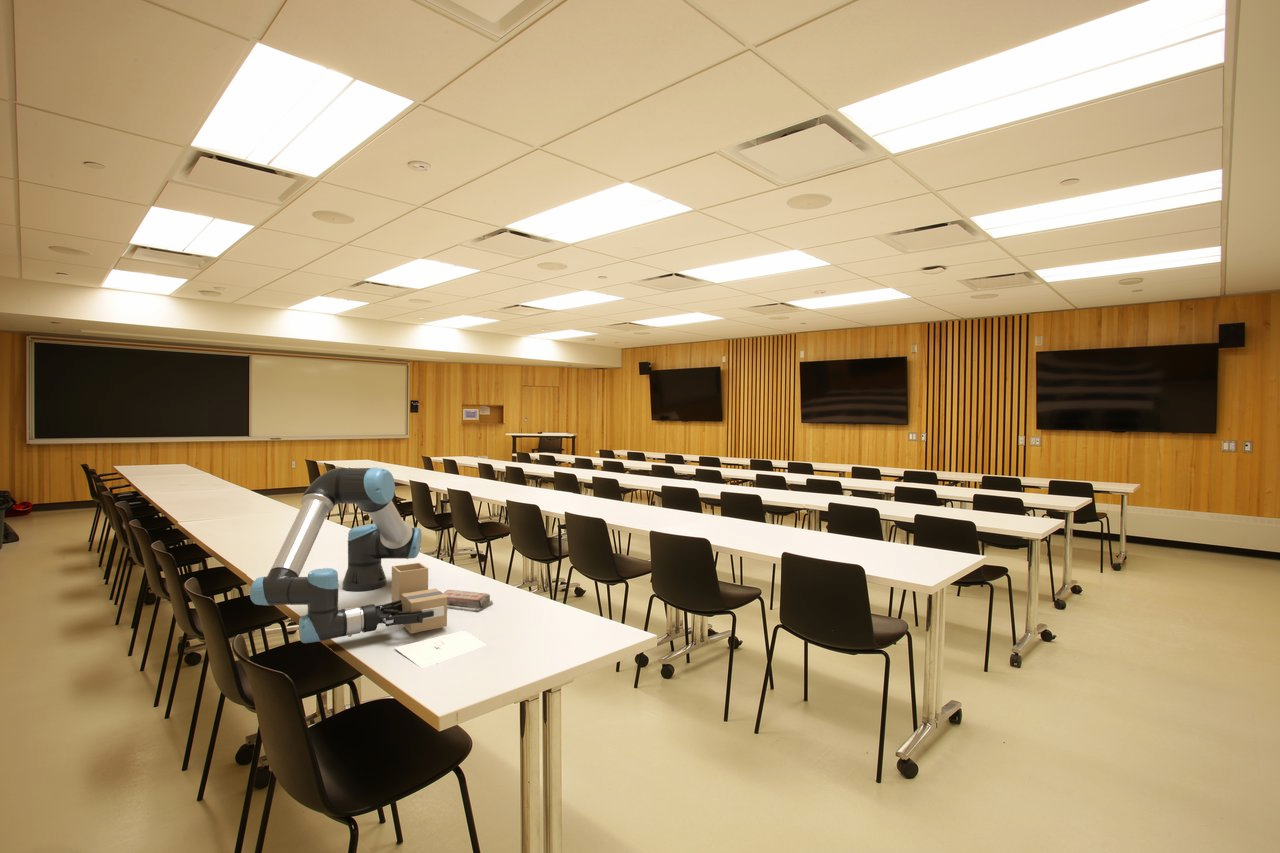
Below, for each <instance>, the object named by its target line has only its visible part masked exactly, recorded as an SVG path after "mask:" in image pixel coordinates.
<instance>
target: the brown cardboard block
mask: <svg viewBox="0 0 1280 853" xmlns="http://www.w3.org/2000/svg"><path fill="white" fill-rule="evenodd" d="M443 593H444V592H442V591H440V590H438V589H437V588H430V589H429V588H428V590H423V591H417V592H411V593H404V594H401V603H402V612H404V611H411V612H415V611H421V610H423V609H429V608H434V607H440V606H444V615H443V616H438V617H433V618H427V619H423V620H422V623H412V624H402V625H403V627H405V629H406V630H407V631H408V632H409V633H410V634H416V633H420V632H424V631H430V630H434V629H435V630H436V629H439V628H445V627H447V626H448V609H447V596H445V595H444V594H443ZM417 618H418V617H417Z"/></svg>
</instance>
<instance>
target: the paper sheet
mask: <svg viewBox="0 0 1280 853" xmlns="http://www.w3.org/2000/svg"><path fill="white" fill-rule="evenodd" d="M486 646H488V645H487V644H486V643H485V642H483V641H482V640H480V639H478V638H477V637H476V636H474V635H472V634H471V633H469V632H467V631H465V630H461V631H456V632H452V633H449V634H445V635H440V636H437V637H432V638H427V639H424V640H419V641H417V642H416V641H415V642H412V643H408V644H403V645H400V646H395V647H394V649H395V650H396V651H397V652H399V653H400V654H402V655H403V656H404V657H406V658H407V659H409V660H410V661H411V662H413V663H414V664H415V665H417V666H418V667H419V668H421V669H425V668H428V667H430V666H432V665H436V664H439V663H441V662H444V661H447V660H450V659H452V658H455V657H457V656H461V655H464V654H466V653H468V652H472V651H475V650H477V649H480V648H483V647H486Z"/></svg>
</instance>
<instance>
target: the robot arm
mask: <svg viewBox="0 0 1280 853" xmlns="http://www.w3.org/2000/svg"><path fill="white" fill-rule="evenodd" d="M395 494H396V484H395V479H394V476H393V474H392V473H391V472H390V470H389V469H386V468H380V467H339V468H338V467H336V468H333V469H330V470H327V471H326V472H324V473H323V474H321V475H319V476H318V477H317V478H316V479H315V480H314V481H313V482H312V483H311V484H310V485H309V486H308V487H307V489H306V490H305V491H304V493H303V495H302V497H301V499H300V504H301V507H300V509H299V511H298V513H297V515H296V517H295V519H294V521H293V524H292V525H291V526H290V530H289V532H288V533H287V535H286V537H285V540H284V542H283V543H282V546H281V548H280V550H279V552H278V553H277V556H276V558H275V561H274V562H273V564H272V566H271V569H270V570H269V572H268V574H267V576H260V577H259V576H258V577H257V578H256V579H255V580H253V582H252V583H251V586H250V590H249V597H250V600H251V602H252V603H253V604H254V605H258V606H286V605H287V606H288V605H290V606H291V605H292V606H307V614H305V615H301V616H300V618H299V619H298V620H299V621H298V635H299V640H300V642H301V643H303V644H308V643H309V644H310V643H316V642H317V643H318V642H320V643H321V642H323V641H327V640H333V639H337V638H341V637H350V638H351V637H352V636H353V635H358V634H361V632H362V633H363V634H364V633H369V632H375V631H376V630H377V629H378V625H379V624H383V625H385V627H387V628H388V627H392V626H398V625H403V624H412V623H422V620H423V619H427V618H433V617H438V616H443V615H444V606H440V607H434V608H429V609H423V610H421V611H415V612H411V611H404V612H402V603H401V600H398V601H395V602H392V601H391V602H388V603H384V604H379V605H376V604H374V603H372V604H365V605H362V606H360V607H359V606H353V607H348V608H347V607H346V608H340V609H339V587H340V583H339V574H338V573H339V572H338V571H337V569H334V568H329V567H325V568H317V569H312V570H310V571H309V572H308V574H307V576H300V575H301V572H302V571H303V568H304V566H305V563H306V561H307V559H308V557H309V555H310V553H311V550H312V548H313V546H314V544H315V541H316V540H317V537H318V534H319V533H320V531H321V528H322V526H323V523H324V522H325V520H326V518H327V515H328V514H329V513H331V512H332V511H333V510H334V508H335V506H337V505H340V504H343V505H344V504H345V505H347V504H348V505H351V504H354V505H356V506H357V508H358V509H359V510H360V511H362V512H364V513H367V514H368V516H369V518H370V519H371V521H372V522H373V523H368V524H364V525H359V526H354V527H352V528H350V529H349V530H348V535H347V570H346V572H345V575H344V578H343V581H342V589H343V590H344V591H349V592H363V591H364V592H365V591H366V592H367V591H372V590H377V589H380V588H382V587H385V586H386V584H387V577H386V573H385V571H384V569H383V565H382V559H384V560H385V559H390V560H392V559H394V560H395V559H396V560H397V559H406V560H409V559H415V558H417V557H418V556H419V554H420V550H421V544H422V530H421V528H420V527H416V526H414V527H412V525H411V524H410V523H409V522H407V521H406V520H404V519H403V518H402V516H401V515H400V513H399V511H398V509H397V508H396V506H395V504H394V502H393V498H394V497H395ZM417 617H418V618H417Z"/></svg>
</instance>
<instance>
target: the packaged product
mask: <svg viewBox="0 0 1280 853" xmlns="http://www.w3.org/2000/svg"><path fill="white" fill-rule="evenodd" d="M442 593H443V594H444V595H445V596H447V610H448V609H449V610H456V611H463V610H464V611H465V612H474V613H479V612H481V611H483V610H485V609H486V608H488V607H490V606H491V605H493V604H494V602H493V600H491V595H490V594H489V593H484V592H475V591H468V590H467V591H466V590H457V589H446V590H445V591H444V592H442Z"/></svg>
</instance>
